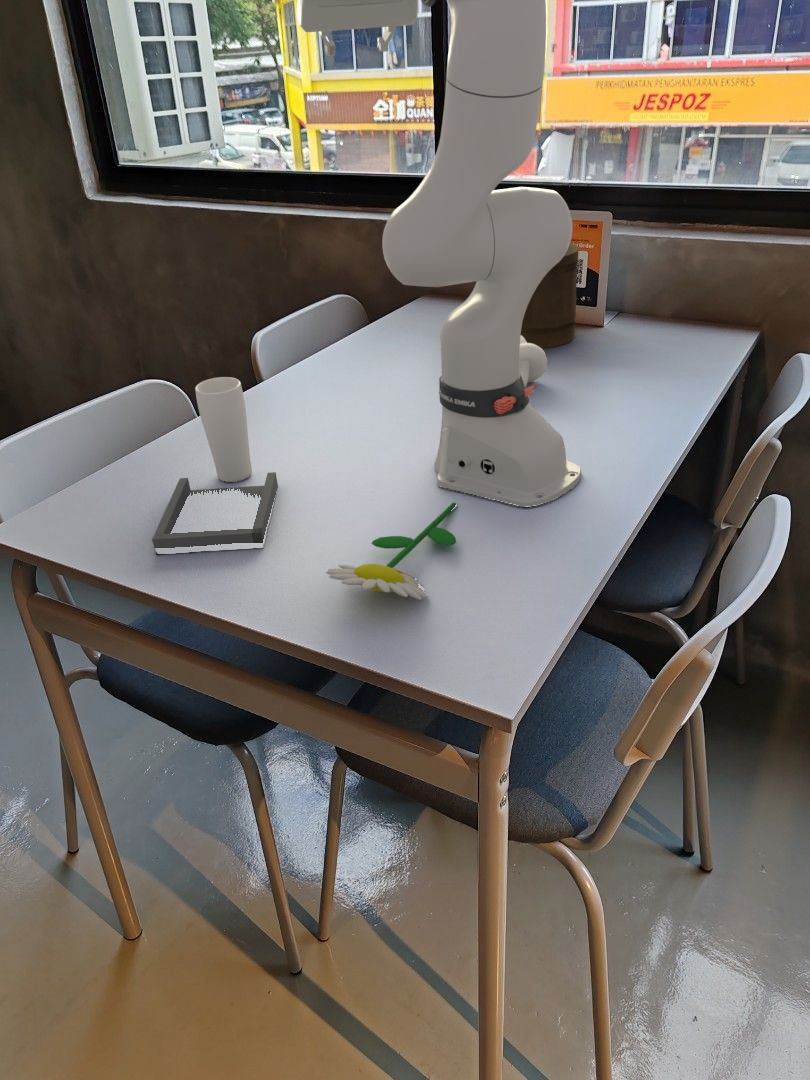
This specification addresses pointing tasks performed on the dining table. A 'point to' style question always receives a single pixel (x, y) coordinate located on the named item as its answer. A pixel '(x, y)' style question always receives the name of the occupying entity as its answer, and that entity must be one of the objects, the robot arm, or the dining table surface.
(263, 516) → the tray
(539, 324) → the wooden container
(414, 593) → the decorative flower
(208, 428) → the drinking glass
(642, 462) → the dining table surface
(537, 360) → the white rounded piece
